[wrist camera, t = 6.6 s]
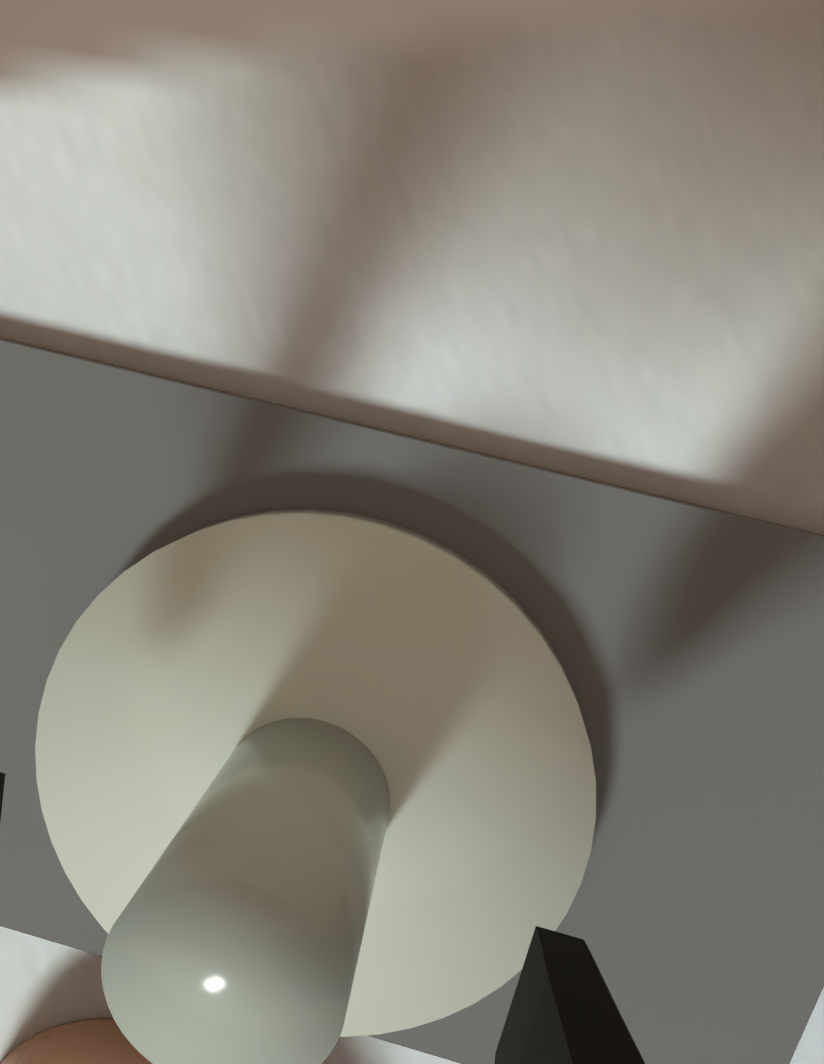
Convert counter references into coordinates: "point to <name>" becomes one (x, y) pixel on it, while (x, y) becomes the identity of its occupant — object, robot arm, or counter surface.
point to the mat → (567, 623)
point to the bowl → (78, 1045)
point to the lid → (310, 786)
